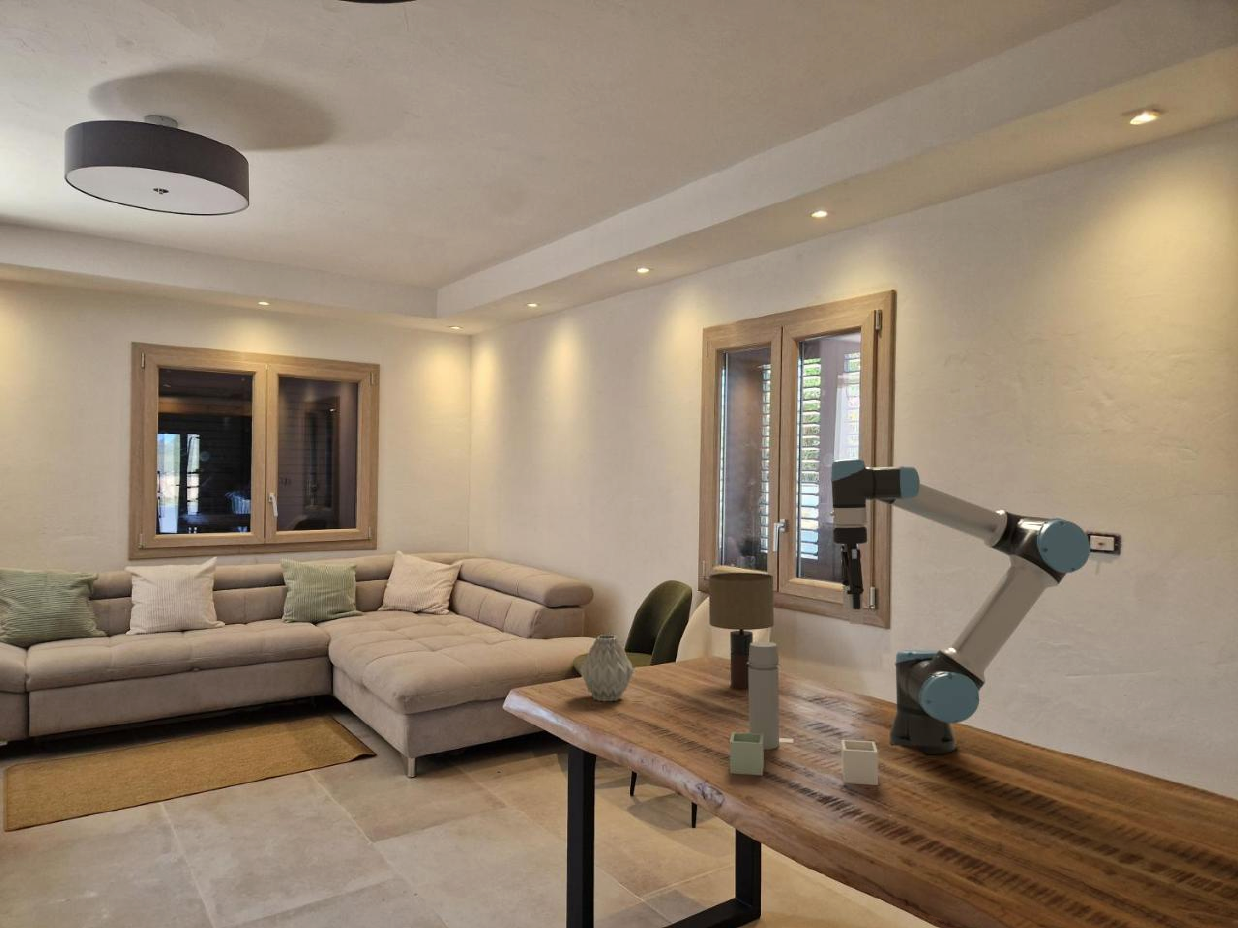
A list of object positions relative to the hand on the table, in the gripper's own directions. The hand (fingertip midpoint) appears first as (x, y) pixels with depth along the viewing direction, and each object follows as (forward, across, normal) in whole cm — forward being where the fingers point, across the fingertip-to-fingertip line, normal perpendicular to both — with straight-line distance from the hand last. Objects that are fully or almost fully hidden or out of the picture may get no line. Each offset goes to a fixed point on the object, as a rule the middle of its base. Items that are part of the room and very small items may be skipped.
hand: (853, 618), depth 185 cm
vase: (+32, -47, -67) cm, 89 cm away
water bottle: (+33, -8, -21) cm, 40 cm away
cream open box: (+33, +12, -1) cm, 36 cm away
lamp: (+33, -66, -27) cm, 79 cm away
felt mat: (+33, -8, -21) cm, 40 cm away
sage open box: (+33, +10, -25) cm, 43 cm away
